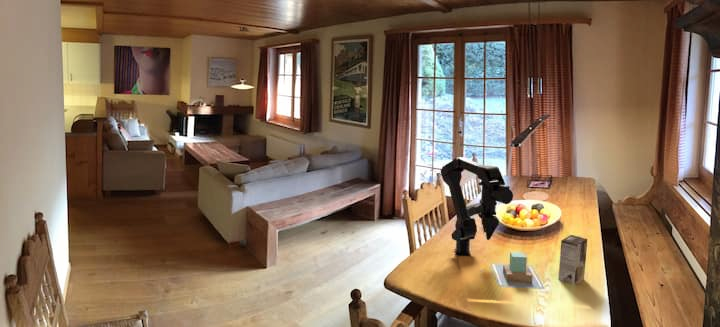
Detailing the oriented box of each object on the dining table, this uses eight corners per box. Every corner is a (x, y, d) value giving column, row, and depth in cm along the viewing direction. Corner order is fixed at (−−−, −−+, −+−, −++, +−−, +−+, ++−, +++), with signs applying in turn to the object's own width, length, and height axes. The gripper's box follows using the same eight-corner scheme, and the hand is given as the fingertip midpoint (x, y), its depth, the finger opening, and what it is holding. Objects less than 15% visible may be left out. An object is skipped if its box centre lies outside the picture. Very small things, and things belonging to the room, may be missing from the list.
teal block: (509, 267, 187) (510, 251, 186) (522, 267, 187) (523, 252, 185) (511, 272, 182) (512, 256, 181) (525, 272, 182) (526, 257, 181)
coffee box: (567, 274, 190) (570, 234, 187) (584, 279, 185) (588, 238, 183) (557, 281, 184) (560, 239, 181) (574, 286, 179) (578, 244, 176)
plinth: (502, 272, 190) (503, 264, 189) (526, 273, 189) (527, 266, 188) (506, 281, 181) (507, 274, 180) (532, 283, 180) (532, 275, 179)
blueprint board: (490, 265, 199) (490, 263, 198) (531, 267, 197) (531, 265, 197) (498, 288, 177) (498, 286, 177) (544, 291, 175) (545, 288, 175)
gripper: (465, 191, 205) (464, 227, 208) (470, 203, 187) (468, 242, 190) (493, 192, 204) (491, 229, 206) (500, 204, 185) (497, 244, 188)
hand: (486, 235), depth 198 cm, fingers open, 9 cm apart
